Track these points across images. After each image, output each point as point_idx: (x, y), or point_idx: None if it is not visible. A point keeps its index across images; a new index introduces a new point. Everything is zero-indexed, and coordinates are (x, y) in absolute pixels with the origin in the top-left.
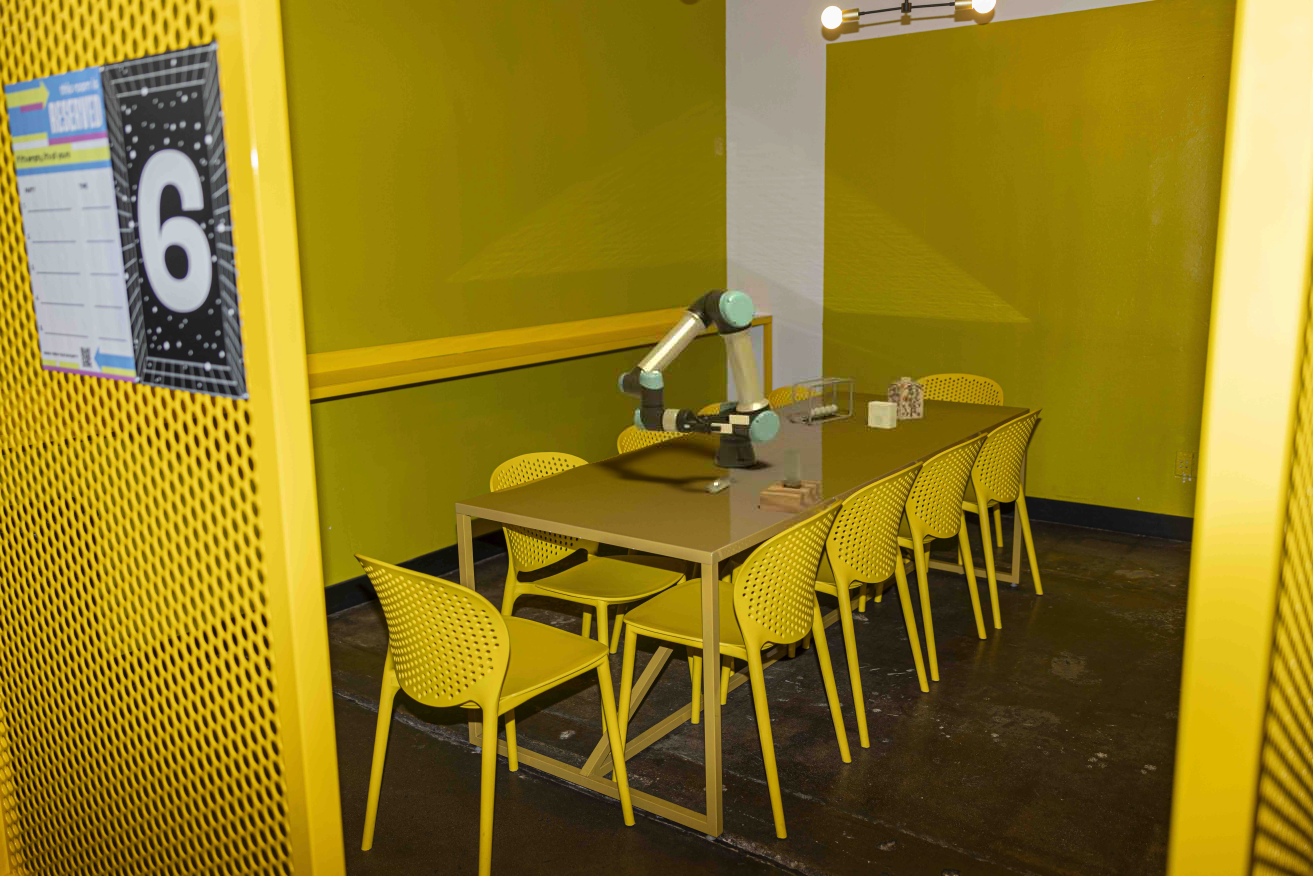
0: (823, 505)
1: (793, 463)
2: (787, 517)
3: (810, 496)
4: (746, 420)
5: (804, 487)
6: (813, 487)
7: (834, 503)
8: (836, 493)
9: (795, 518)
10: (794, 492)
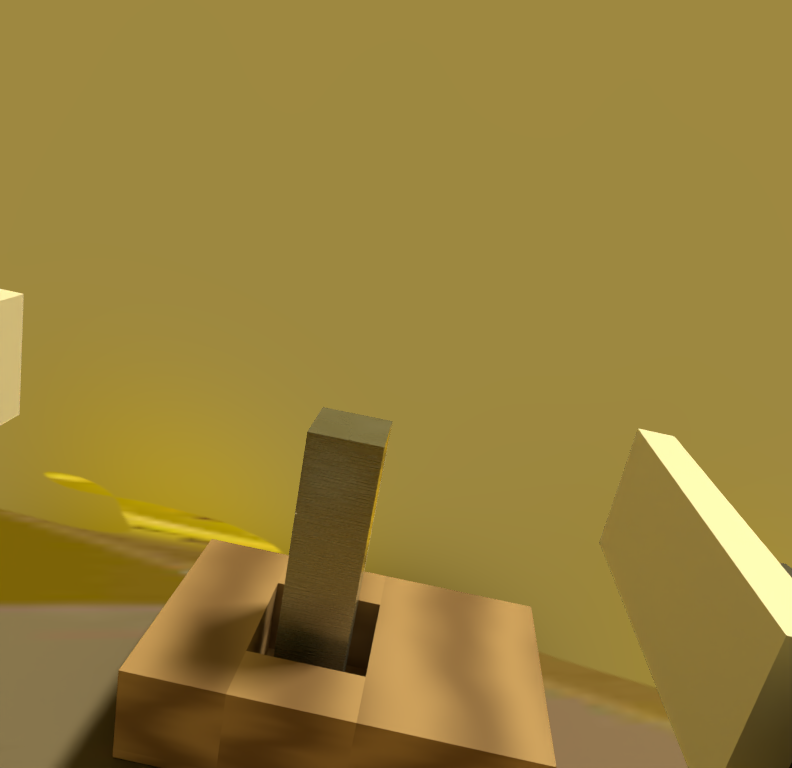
0: None
1: (376, 500)
2: (595, 705)
3: None
4: (2, 364)
5: None
6: None
7: None
8: (120, 562)
9: (588, 677)
10: (454, 619)
